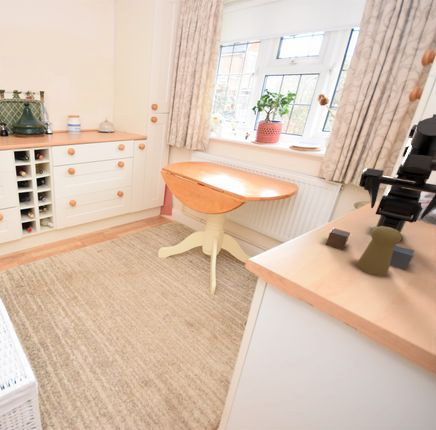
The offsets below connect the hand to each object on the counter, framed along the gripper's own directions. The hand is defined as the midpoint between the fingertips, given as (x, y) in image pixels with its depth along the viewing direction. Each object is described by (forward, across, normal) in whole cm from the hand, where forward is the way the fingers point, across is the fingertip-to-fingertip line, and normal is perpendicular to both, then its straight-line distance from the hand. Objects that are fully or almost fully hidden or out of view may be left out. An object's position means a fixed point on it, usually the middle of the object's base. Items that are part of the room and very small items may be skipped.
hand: (395, 212), depth 72 cm
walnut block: (+9, -9, +9) cm, 16 cm away
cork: (+15, 0, +4) cm, 15 cm away
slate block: (+9, +4, +9) cm, 14 cm away
